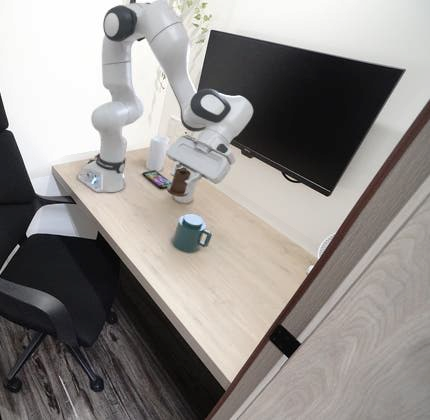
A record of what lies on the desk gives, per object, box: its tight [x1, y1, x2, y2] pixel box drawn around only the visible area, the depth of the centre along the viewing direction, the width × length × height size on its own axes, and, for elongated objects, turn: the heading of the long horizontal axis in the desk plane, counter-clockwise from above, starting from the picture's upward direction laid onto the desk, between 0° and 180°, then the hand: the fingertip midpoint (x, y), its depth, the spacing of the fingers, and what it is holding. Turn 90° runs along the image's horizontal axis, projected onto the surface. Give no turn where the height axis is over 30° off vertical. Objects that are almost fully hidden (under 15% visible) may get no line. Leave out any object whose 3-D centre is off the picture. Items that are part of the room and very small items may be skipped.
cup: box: [145, 134, 170, 172], centre depth 160 cm, size 8×8×16 cm
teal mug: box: [171, 213, 213, 254], centre depth 114 cm, size 12×9×12 cm
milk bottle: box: [173, 167, 199, 204], centre depth 136 cm, size 8×8×20 cm
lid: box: [166, 166, 191, 197], centre depth 102 cm, size 7×7×9 cm
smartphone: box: [142, 170, 172, 190], centre depth 154 cm, size 8×1×15 cm
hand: (179, 179), depth 102 cm, fingers closed on lid, 4 cm apart
